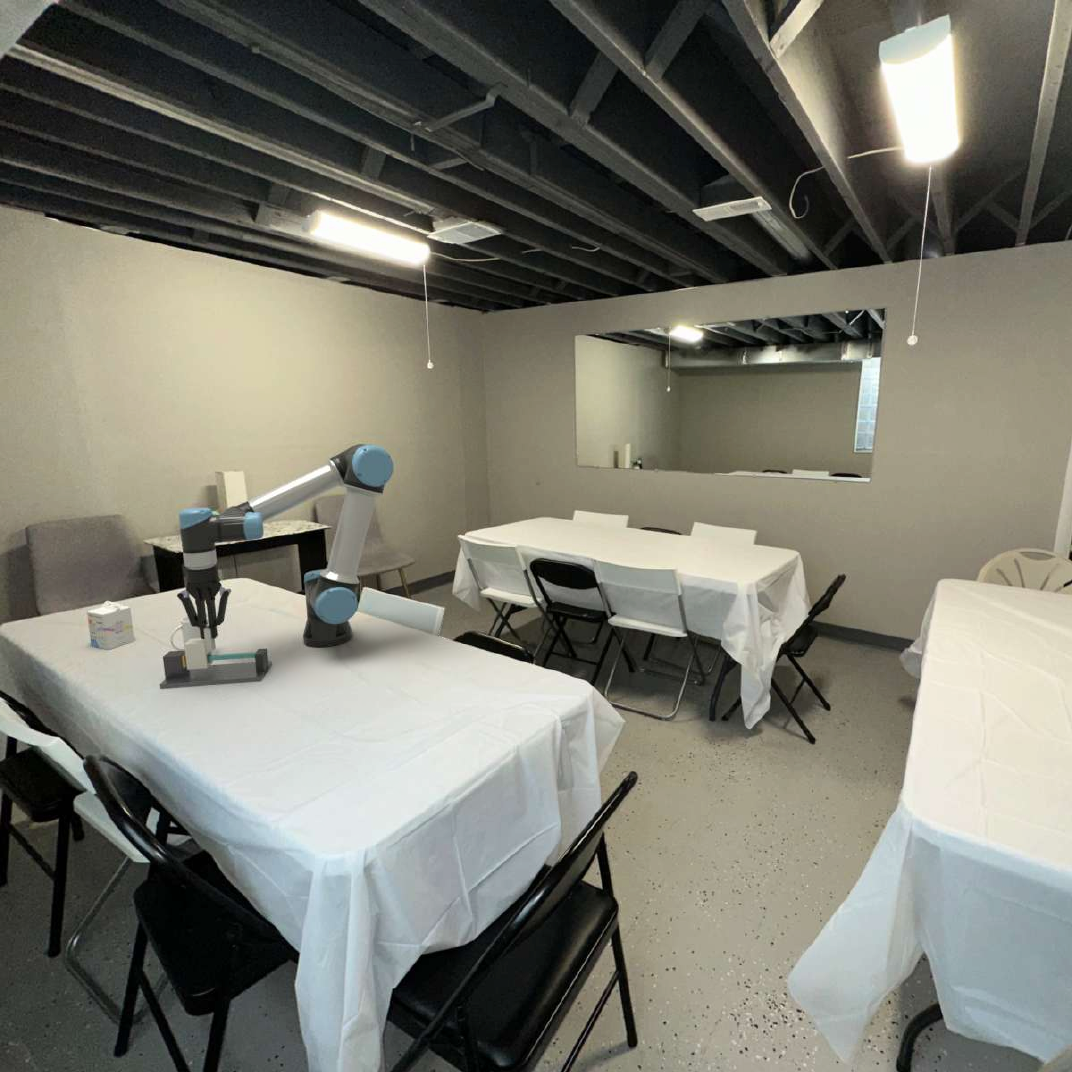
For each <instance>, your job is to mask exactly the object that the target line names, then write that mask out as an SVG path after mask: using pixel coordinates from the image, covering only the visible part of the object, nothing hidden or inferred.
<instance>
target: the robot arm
mask: <svg viewBox="0 0 1072 1072" xmlns="http://www.w3.org/2000/svg"><path fill="white" fill-rule="evenodd" d="M393 474H394V461H393V459H392V457H391V455H390V454H389V452H387V451H386V450H385V449H383V448H382V447H381V446H378V445H375V444H374V445H373V444H364V443H362V444H361V443H360V444H359V443H358V444H355V445H352V446H350V447H349V448H347V449H345V450H343V451H341V452H340V453H338V454H335V455H334V456H332V457H329V458H328V459H327V461H326V463H325V464H322V465H321V466H320V467H317V468H314V469H313V470H311V471H309V472H306V473H304V474H302V475H300V476H298V477H296V478H293V479H291V480H289V481H286V482H285V483H282V484H280V485H278V486H276V487H274V488H272V489H270V490H267V491H266V492H264V493H261V494H259V495H257V496H255V497H253V498H250V499H248V500H247V501H244V502H242V503H239V504H238V505H233V506H229V507H228V508H226V509H225V510H224V511H223V513H222V514H213V512H212V509H211V508H209V507H190V508H185V509H182V510H180V512H179V514H178V517H179V533H180V538H181V547H182V554H183V555H182V556H183V565H184V567H186V568H185V570H184V571H185V577H186V578H185V579H186V580H185V581H186V586H185V589H184V590H182V591H180V592H179V593H177V595H176V597H177V598H178V600H179V601H180V602H181V603H182V605H183V608H184V610H185V613H186V615H187V616H188V618H189V620H190V623H191V625H192V626H193V627H195V626H196V627H199V628H200V634H201V639H205V645H206V652H208V651H213V650H214V649H215V648H216V649H217V647H216V646H217V645H216V639H217V638H218V637H219V636H218V635H219V634H218V633H219V632H218V626H221V625H222V624H223V623H224V621H225V617H226V611H227V605H228V599H229V596H230V595H231V592H232V589H230V588H225V587H223V586H222V585H223V584H221V582H220V577H219V568H218V566H219V565H218V566H217V563H218V559H217V550H216V544H218V543H230V542H243V541H253V540H259V539H262V538H263V537H264V523H265V522H267V521H268V520H271V519H273V518H275V517H277V516H278V515H281V514H283V513H285V512H288V511H289V510H292V509H293V508H296V507H297V506H300V505H302V504H303V503H306V502H308V501H310V500H312V499H314V498H316V497H318V496H320V495H322V494H324V493H327V492H328V491H330V490H333V489H335V488H337V487H341V488H345V491H346V492H345V496H344V497H345V498H344V501H343V505H342V509H341V512H340V516H339V520H338V523H337V528H336V533H335V536H334V539H333V543H332V546H331V547H332V548H331V551H330V555H329V559H328V563H327V567H326V568H324V569H317V570H311V571H310V570H309V572H306V573H305V574H304V577H303V578H304V579H303V584H304V592H305V594H304V595H305V604H306V615H307V617H306V622H305V626H304V631H303V635H302V641H303V644H304V645H305V646H308V647H313V648H327V647H332V646H333V647H334V646H338V645H339V646H340V645H341V644H345V643H346V642H348V641H350V640H351V639H353V628H352V625H351V624H350V623H351V622H349V620H350V619H352V618H353V616H354V615H355V614H356V612H357V609H358V604H359V603H358V598H357V593H358V589H359V584H360V582H361V581H360V580H359V578H358V577H357V572H358V568H359V565H360V561H361V557H362V553H363V549H364V547H365V546H364V545H365V543H366V538H367V534H368V530H369V528H370V522H371V519H372V516H373V515H372V514H373V511H374V507H375V504H376V500H377V499H378V498H379V497H381V496H383V493H384V491H385V490H384V489H385V486H386V483H388V482H389V481H390V479H391V478H392V476H393ZM218 593H219V596H220V598H219V603H218V608H217V609H218V611H217V609H216V596H217V595H218ZM190 596H191V597H190ZM191 598H193V599H194V603H195V606H194V604H193V602H192V599H191ZM195 607H196V608H195ZM206 611H207V612H206ZM206 613H208V620H209V625H208V626H207V624H208V623H207V618H206ZM197 615H198V616H197Z"/></svg>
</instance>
